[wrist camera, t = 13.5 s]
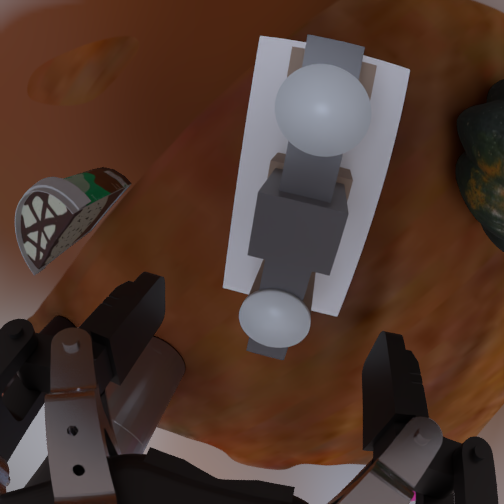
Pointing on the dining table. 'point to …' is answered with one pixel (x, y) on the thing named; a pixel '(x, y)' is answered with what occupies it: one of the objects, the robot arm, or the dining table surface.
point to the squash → (484, 162)
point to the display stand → (350, 174)
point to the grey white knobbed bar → (304, 192)
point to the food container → (63, 212)
